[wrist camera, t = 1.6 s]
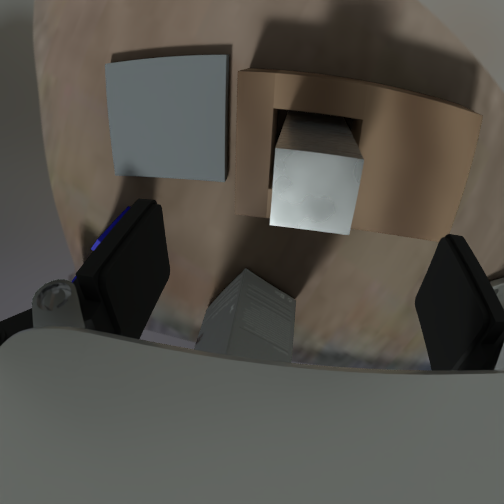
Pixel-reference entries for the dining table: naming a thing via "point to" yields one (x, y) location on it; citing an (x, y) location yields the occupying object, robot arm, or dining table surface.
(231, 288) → the skincare box
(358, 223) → the wooden block with hole
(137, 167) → the rubber mat
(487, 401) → the robot arm
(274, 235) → the dining table surface
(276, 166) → the steel bar
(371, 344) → the dining table surface
